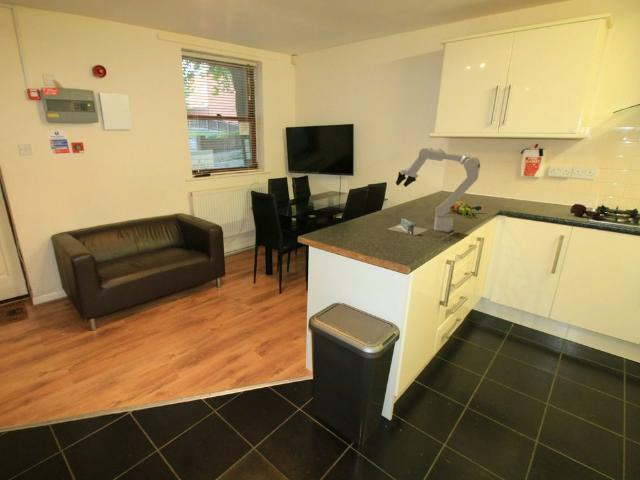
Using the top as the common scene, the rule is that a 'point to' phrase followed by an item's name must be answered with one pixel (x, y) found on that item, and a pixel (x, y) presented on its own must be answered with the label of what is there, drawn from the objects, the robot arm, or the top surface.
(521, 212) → the top surface
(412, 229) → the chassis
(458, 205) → the toy
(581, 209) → the figurine
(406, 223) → the swing arm
